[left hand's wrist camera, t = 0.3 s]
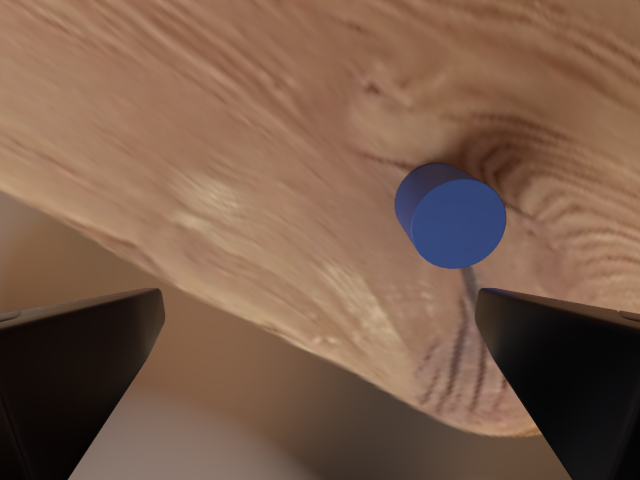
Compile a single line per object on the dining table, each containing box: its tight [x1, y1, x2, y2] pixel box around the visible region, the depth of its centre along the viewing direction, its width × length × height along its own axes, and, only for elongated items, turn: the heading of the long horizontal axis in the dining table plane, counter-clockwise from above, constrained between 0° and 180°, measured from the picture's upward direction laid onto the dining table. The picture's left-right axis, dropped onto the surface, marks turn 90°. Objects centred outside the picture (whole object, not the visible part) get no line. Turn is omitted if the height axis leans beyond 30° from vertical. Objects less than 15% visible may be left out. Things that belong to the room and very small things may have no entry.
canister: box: [395, 163, 506, 269], centre depth 20 cm, size 4×4×4 cm
